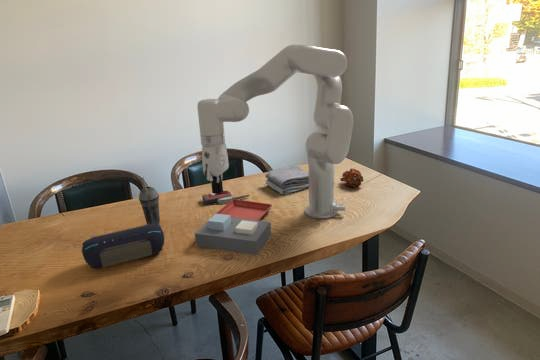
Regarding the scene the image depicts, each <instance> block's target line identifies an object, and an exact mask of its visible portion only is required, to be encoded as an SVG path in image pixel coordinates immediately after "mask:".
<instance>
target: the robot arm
mask: <svg viewBox="0 0 540 360" xmlns="http://www.w3.org/2000/svg"><path fill="white" fill-rule="evenodd" d="M347 67H348V58H347V56H346V54H345V53H344V52H342V51H341V50H339V49H331V48H325V47H318V46H315V45H309V44H290V45H287V46H285V47H284V48H282V50H280V51H279V52H278V53H276V54H275V55H274V56H273V57H272V58H270V59H269V60H268V61H267V62H266V63H265V64H263V65H262V66H260V68H258V69H257V70H255V71H253V72H252V73H250V74H249V75H246V76H244V77H243V78H241V79H239V80H238V81H236V82H235V83H233V84H232V85H230V86H229V87H228V88H227V89H226V90H224V92H222V93H221V94H220V95H219V96H218V98H207V99H201V100H199V101H198V102H197V115H198V125H199V127H198V128H199V134H200V135H199V136H200V144H201V161H202V171H203V175H204V176H206V181H207V182H208V181H209V182H210V185H211V193H216V194H221V193H222V192H223V189H224V186H223V179H224V177H223V173H225V172H226V171H227V170H228V169H229V167H230V164H229V156H228V149H227V144H226V137H225V128H224V127H225V126H224V123H238V122H242V121H244V120H246V118H248V115H249V114H250V107H249V105H248V103H247V102H248V101H251V100H252V99H254V98H256V97H258V96H264V95H268V94H270V93H273V92H275V91H277V89H279V88H280V87H281V86H282V85H283V84H284V83H285V82H287V81H288V80H289V79H290V78H292V77H293V76H294V75H295V74H297V73H300V74H307V75H313V76H314V79H315V80H316V83H317V92H316V98H315V99H316V101H315V104H314V105H315V107H314V113H313V121H314V124H315V126H317V127H318V128H321V129H323V130H326V131H327V132H325V131H313V132H312V133H311V134H309V135H308V136H307V138H306V140H305V141H306V142H305V152H306V158H307V164H308V166H307V167H308V173H309V187H308V205H306V207H304V208H305V209H304V210H305V214H306V215H307V216H309V217H311V218H314V219H324V220H325V219H329V218H332V217H335V216H337V215H338V212H339V211H340V212H345V211H346V205H344V203H337V199H335V165H339V164H341V163H342V162H343V161H345V160H346V158H347V156H348V154H349V150H350V145H351V139H352V134H353V129H354V115H353V112H352V111H351V109H350V108H349V107H348V106H346V105H344V104H343V105H342V104H341V102H342V101H341V100H342V93H343V83H342V80H341V79H342V78H341V76H342V75H343V74H344V73H345V72H346V70H347Z"/></svg>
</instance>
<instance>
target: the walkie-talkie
mask: <svg viewBox="0 0 540 360" xmlns="http://www.w3.org/2000/svg"><path fill="white" fill-rule="evenodd" d="M247 197H250V194H245V195H241V196H235V197H234V196H233V195H232V193H231V192H230V191H229V190H227V189H225V188H223V192H222V193H221V194H216V193H212V192H209V193H206V194H203V195H202V204H203V205H205V206H210V205H216V204H219V205H223V204H225V205H226V204H228V203H229V202H230V201H231V200H233V199H237V200H242V199H244V198H247Z"/></svg>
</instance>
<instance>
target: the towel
mask: <svg viewBox="0 0 540 360" xmlns="http://www.w3.org/2000/svg"><path fill="white" fill-rule="evenodd" d="M265 178H266V181H265V184H266V185H267V186H269V188H271V189H272V190H275V191H276V192H278V193H279V194H280V195H288V194H291V193H294V192H297V191H302V190H303V189H306V188H309V171H306V170H303V169H302V168H301V167H300V166H299V165H298V164H297V163H294V164H291V165H287V166H285V167H280V168H276V169H272V170H269V171H268V172H267V173H266V174H265Z"/></svg>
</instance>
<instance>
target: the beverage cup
mask: <svg viewBox="0 0 540 360" xmlns="http://www.w3.org/2000/svg"><path fill="white" fill-rule="evenodd" d="M142 181H143V185H144V187H143V188H142V189H141V190H140V191H139V194H138V201H139V204H140V205H141V208H142V213H143V215H144V219H145V221H146V225H160V226H161V221H160V218H161V217H160V205H159V203H160V202H159V201H160V196H159V193H158V191H157V190H156V188H154V187H152V186H147V183H146V180H145V177H144V176H142Z"/></svg>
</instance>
